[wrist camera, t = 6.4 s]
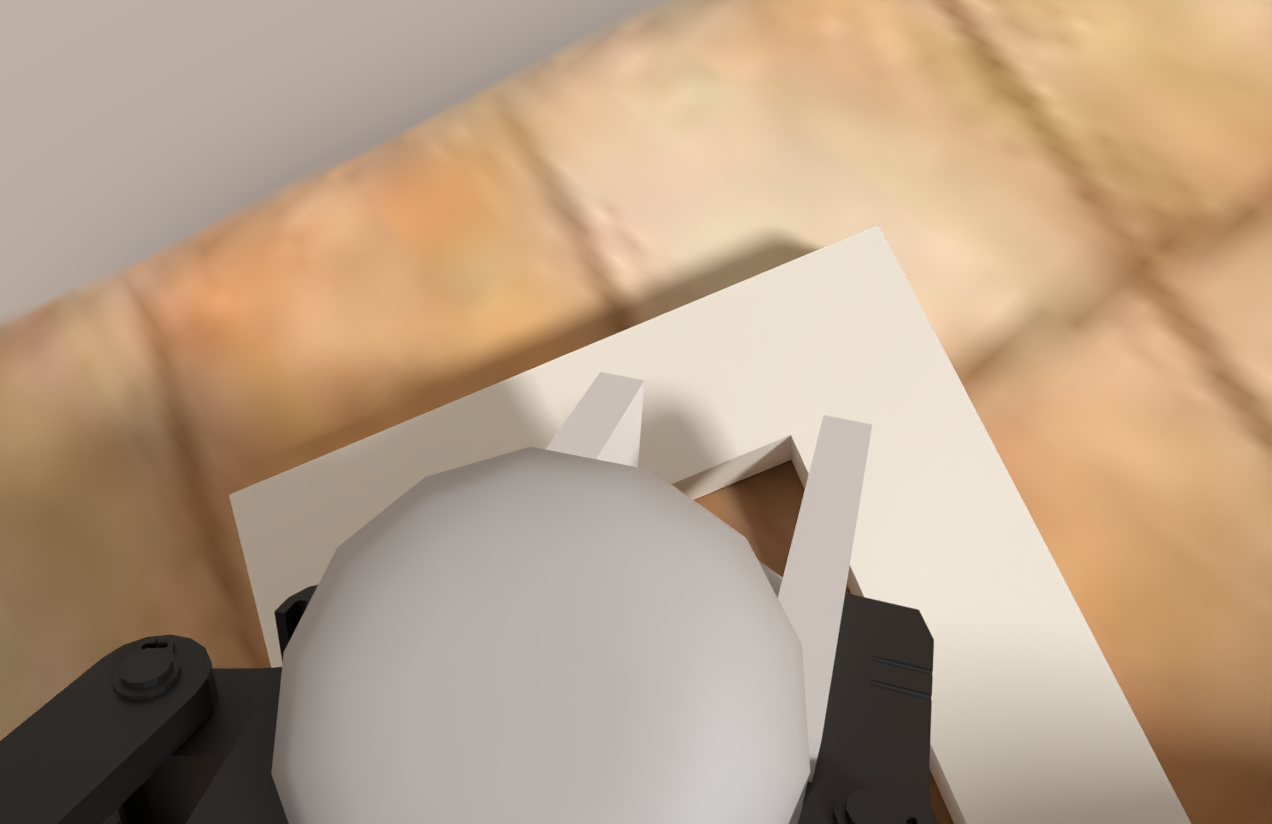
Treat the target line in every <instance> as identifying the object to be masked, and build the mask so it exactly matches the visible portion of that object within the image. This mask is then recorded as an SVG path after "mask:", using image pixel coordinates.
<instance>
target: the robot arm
mask: <svg viewBox="0 0 1272 824" xmlns="http://www.w3.org/2000/svg"><path fill="white" fill-rule="evenodd" d="M643 393H644V380H640V379H635V378H630V377H625V376H619V375H614V374H609V373H604V372H600V373H599V374H598V376H597V377H596V379H595V380H594V382H593V383H592V384H591V386H590V387H589V389H588V390H587V391H586V393H585V394H584V396H583V397H582V399H581V400H580V401H579V403H578V404H577V406H576V407H575V408H574V410H573V411H572V413H571V414H570V416H569V417H568V418H567V420H566V421H565V423H564V424H563V425H562V427H561V428H560V430H559V431H558V432H557V434H556V435H555V437H554V438H553V440H552V441H551V442H550V444H549V445H548V447H547V448H546V450H551V451H556V452H561V453H566V454H571V455H577V456H582V457H587V458H592V459H597V460H602V461H608V462H613V463H618V464H623V465H628V466H634V467H638V458H639V445H640V432H641V419H642V406H643ZM871 429H872V424H867V423H862V422H857V421H852V420H847V419H842V418H836V417H831V416H826V415H824V416H823V420H822V424H821V428H820V432H819V436H818V440H817V444H816V447H815V451H814V455H813V459H812V463H811V467H810V471H809V475H808V479H807V483H806V487H805V491H804V495H803V499H802V503H801V507H800V511H799V515H798V519H797V523H796V527H795V531H794V535H793V539H792V543H791V547H790V551H789V555H788V559H787V563H786V567H785V571H784V575H783V579H782V583H781V587H780V591H779V595H778V600H779V602H780V604H781V606H782V607H783V609H784V611H785V613H786V615H787V617H788V619H789V621H790V623H791V625H792V627H793V629H794V631H795V633H796V634H797V636H798V638H799V640H800V642H801V644H802V655H803V670H804V685H805V700H806V715H807V730H808V745H809V760H810V774H809V776H808V779H807V781H806V784H805V786H804V788H803V791H802V793H801V796H800V798H799V800H798V803H797V805H796V807H795V810H794V812H793V815H792V817H791V819H790V822H789V824H938V823H937V821H936V819H935V816H934V814H933V811H932V809H931V806H930V799H929V791H928V788H929V761H930V735H931V708H932V700H931V696H932V681H933V676H932V672H933V655H934V639H933V637H932V635H931V633H930V631H929V629H928V627H927V625H926V623H925V621H924V619H923V617H922V615H921V613H920V611H919V610H918V609H914V608H909V607H905V606H901V605H896V604H892V603H888V602H883V601H879V600H874V599H870V598H866V597H861V596H857V595H853V594H848V593H845V591H846V585H847V579H848V572H849V566H850V560H851V554H852V547H853V541H854V535H855V529H856V523H857V516H858V510H859V504H860V498H861V492H862V485H863V479H864V473H865V467H866V461H867V454H868V448H869V442H870V436H871ZM317 586H318V585H314V586H310V587H307V588H305V589H303V590H302V591H300V592H298V593H296V594H294V595H292V596H290V597H288V598H287V599H286V600H285V601H284V602H283V603H282V604H281V605H280V606H279V607H278V608H277V609H276V610H275V611H274V613H275V619H276V626H277V632H278V638H279V645H280V651H281V657H282V664H283V654H284V651H285V649H286V647H287V645H288V643H289V641H290V639H291V637H292V635H293V633H294V631H295V629H296V627H297V625H298V623H299V621H300V619H301V617H302V616H303V614H304V612H305V610H306V608H307V606H308V604H309V602H310V600H311V598H312V596H313V594H314V592H315V590H316V588H317ZM281 674H282V667H274V668H262V669H212V664H211V660H210V658H209V656H208V654H207V651H206V649H205V647H203V646H201V645H200V644H198V643H197V642H195V641H194V640H192V639H190V638H185V637H179V636H174V635H164V636H154V637H146V638H143V639H140V640H137V641H134V642H131V643H128V644H125V645H123V646H121V647H120V648H118V649H116V650H115V651H113V652H112V653H110V654H108V655H107V656H105V657H103V658H102V659H101V660H100V661H98V662H97V663H96V664H95V665H93V666H92V667H91V668H90V669H88V670H87V671H86V672H85V673H84V674H82V675H81V676H80V677H79V678H77V679H76V680H75V681H74V682H72V683H71V684H70V685H69V686H68V687H66V688H65V689H64V690H63V691H61V692H60V693H59V694H58V695H56V696H55V697H54V698H53V699H52V700H50V701H49V702H48V703H47V704H45V705H44V706H43V707H42V708H40V709H39V710H38V711H37V712H36V713H34V714H33V715H32V716H31V717H29V718H28V719H27V720H26V721H24V722H23V723H22V724H21V725H20V726H18V727H17V728H16V729H15V730H13V731H12V732H11V733H10V734H8V735H7V736H6V737H5V738H4V739H2V740H1V741H0V824H289V823H288V820H287V817H286V814H285V811H284V809H283V806H282V803H281V800H280V797H279V794H278V791H277V788H276V785H275V782H274V780H273V777H272V774H271V772H272V763H273V753H274V743H275V733H276V723H277V713H278V704H279V694H280V684H281Z"/></svg>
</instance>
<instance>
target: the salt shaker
mask: <svg viewBox="0 0 1272 824" xmlns="http://www.w3.org/2000/svg"><path fill="white" fill-rule="evenodd" d="M782 579H783V577H781V576H780V575H778V574H777V573H776V572H774V571H773V570H771V569H770V568H769V567H767V566H766V565H764V564H763V563H762V562H760V561H759V560H758V559H757V557H756V556H755V554H754V552H753V550H752V548H751V546H750V544H749V542H748V540H747V538H745V537H744V536H743V535H741V534H740V533H739V532H737V531H736V530H734V529H733V528H732V527H730V526H729V525H727V524H726V523H725V522H723V521H722V520H720V519H719V518H718V517H716V516H715V515H713V514H712V513H711V512H709V511H708V510H706V509H705V508H704V507H702V506H701V505H699V504H698V503H697V502H695V501H694V500H692V499H691V498H690V497H688V496H687V495H685V494H684V493H683V492H681V491H680V490H678V489H677V488H676V487H674V486H673V485H671V484H670V483H669V482H667V481H666V480H664V479H663V478H662V477H660V476H659V475H657V474H656V473H654V472H651V471H648V470H645V469H642V468H639V467H634V466H628V465H623V464H618V463H613V462H608V461H602V460H597V459H592V458H587V457H582V456H577V455H571V454H566V453H561V452H556V451H551V450H546V449H540V448H535V447H528V448H524V449H521V450H517V451H514V452H510V453H507V454H503V455H500V456H496V457H493V458H489V459H486V460H482V461H479V462H475V463H472V464H468V465H465V466H461V467H458V468H454V469H451V470H447V471H444V472H440V473H437V474H433V475H430V476H426V477H424V478H423V479H422V480H421V481H419V482H418V483H417V484H416V485H414V486H413V487H412V488H411V489H409V490H408V491H407V492H406V493H404V494H403V495H402V496H401V497H400V498H398V499H397V500H396V501H395V502H393V503H392V504H391V505H390V506H388V507H387V508H386V509H385V510H383V511H382V512H381V513H380V514H378V515H377V516H376V517H375V518H373V519H372V520H371V521H370V522H368V523H367V524H366V525H365V526H363V527H362V528H361V529H360V530H358V531H357V532H356V533H355V534H354V535H352V536H351V537H350V538H349V539H347V540H346V541H345V542H344V543H342V544H341V545H340V546H339V547H337V549H336V551H335V553H334V555H333V557H332V559H331V561H330V563H329V565H328V567H327V569H326V571H325V573H324V575H323V576H322V578H321V580H320V582H319V584H318V586H317V588H316V590H315V592H314V594H313V596H312V598H311V600H310V602H309V604H308V606H307V608H306V610H305V612H304V614H303V616H302V617H301V619H300V621H299V623H298V625H297V627H296V629H295V631H294V633H293V635H292V637H291V639H290V641H289V643H288V645H287V647H286V649H285V651H284V654H283V664H282V674H281V684H280V694H279V704H278V713H277V723H276V733H275V743H274V753H273V763H272V772H271V774H272V777H273V780H274V782H275V785H276V788H277V791H278V794H279V797H280V800H281V803H282V806H283V809H284V811H285V814H286V817H287V820H288V823H289V824H789V822H790V819H791V817H792V815H793V812H794V810H795V807H796V805H797V803H798V800H799V798H800V796H801V793H802V791H803V788H804V786H805V784H806V781H807V779H808V776H809V774H810V760H809V745H808V730H807V715H806V700H805V685H804V670H803V655H802V644H801V642H800V640H799V638H798V636H797V634H796V633H795V631H794V629H793V627H792V625H791V623H790V621H789V619H788V617H787V615H786V613H785V611H784V609H783V607H782V606H781V604H780V602H779V600H778V595H779V591H780V587H781V583H782Z"/></svg>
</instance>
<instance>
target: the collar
mask: <svg viewBox="0 0 1272 824" xmlns="http://www.w3.org/2000/svg"><path fill="white" fill-rule="evenodd" d="M600 372H604V373H609V374H614V375H619V376H625V377H630V378H635V379H640V380H644V393H643V406H642V419H641V432H640V445H639V458H638V467H639V468H642V469H645V470H648V471H651V472H654V473H656V474H657V475H659V476H660V477H662V478H663V479H664V480H666V481H667V482H669V483H670V484H671V485H673V486H674V487H676V488H677V489H678V490H680V491H681V492H683V493H684V494H685V495H687V496H688V497H690V498H691V499H692V500H694V499H696V498H699V497H701V496H704V495H706V494H709V493H711V492H714V491H716V490H718V489H721V488H723V487H726V486H728V485H731V484H733V483H736V482H738V481H740V480H743V479H745V478H748V477H750V476H753V475H755V474H758V473H760V472H762V471H765V470H767V469H770V468H772V467H775V466H777V465H780V464H782V463H785V462H787V461H789V460H791V461H792V463H793V465H794V467H795V469H796V472H797V474H798V476H799V478H800V481H801V483H802V485H803V487H804V490H805V487H806V483H807V479H808V475H809V471H810V467H811V463H812V459H813V455H814V451H815V447H816V444H817V440H818V436H819V432H820V428H821V424H822V420H823V416H824V415H826V416H831V417H836V418H842V419H847V420H852V421H857V422H862V423H867V424H872V429H871V436H870V442H869V448H868V454H867V461H866V467H865V473H864V479H863V485H862V492H861V498H860V504H859V510H858V516H857V523H856V529H855V535H854V541H853V547H852V554H851V560H850V566H849V572H848V579H847V586H848V588H849V590H850V592H851V594H853V595H857V596H861V597H866V598H870V599H874V600H879V601H883V602H888V603H892V604H896V605H901V606H905V607H909V608H914V609H918V610H919V611H920V613H921V615H922V617H923V619H924V621H925V623H926V625H927V627H928V629H929V631H930V633H931V635H932V637H933V639H934V655H933V672H932V676H933V681H932V696H931V700H932V708H931V735H930V761H929V769H930V771H931V773H932V775H933V778H934V780H935V782H936V784H937V787H938V789H939V791H940V793H941V796H942V798H943V800H944V802H945V804H946V807H947V809H948V811H949V813H950V816H951V818H952V820H953V822H954V824H1191V822H1190V820H1189V818H1188V816H1187V814H1186V812H1185V810H1184V809H1183V807H1182V805H1181V803H1180V801H1179V799H1178V797H1177V795H1176V793H1175V791H1174V789H1173V787H1172V786H1171V784H1170V782H1169V780H1168V778H1167V776H1166V774H1165V772H1164V770H1163V768H1162V766H1161V764H1160V763H1159V761H1158V759H1157V757H1156V755H1155V753H1154V751H1153V749H1152V747H1151V745H1150V743H1149V742H1148V740H1147V738H1146V736H1145V734H1144V732H1143V730H1142V728H1141V726H1140V724H1139V722H1138V720H1137V719H1136V717H1135V715H1134V713H1133V711H1132V709H1131V707H1130V705H1129V703H1128V701H1127V699H1126V697H1125V696H1124V694H1123V692H1122V690H1121V688H1120V686H1119V684H1118V682H1117V680H1116V678H1115V676H1114V674H1113V673H1112V671H1111V669H1110V667H1109V665H1108V663H1107V661H1106V659H1105V657H1104V655H1103V653H1102V651H1101V650H1100V648H1099V646H1098V644H1097V642H1096V640H1095V638H1094V636H1093V634H1092V632H1091V630H1090V629H1089V627H1088V625H1087V623H1086V621H1085V619H1084V617H1083V615H1082V613H1081V611H1080V609H1079V607H1078V606H1077V604H1076V602H1075V600H1074V598H1073V596H1072V594H1071V592H1070V590H1069V588H1068V586H1067V584H1066V583H1065V581H1064V579H1063V577H1062V575H1061V573H1060V571H1059V569H1058V567H1057V565H1056V563H1055V561H1054V560H1053V558H1052V556H1051V554H1050V552H1049V550H1048V548H1047V546H1046V544H1045V542H1044V540H1043V538H1042V537H1041V535H1040V533H1039V531H1038V529H1037V527H1036V525H1035V523H1034V521H1033V519H1032V517H1031V515H1030V514H1029V512H1028V510H1027V508H1026V506H1025V504H1024V502H1023V500H1022V498H1021V496H1020V494H1019V493H1018V491H1017V489H1016V487H1015V485H1014V483H1013V481H1012V479H1011V477H1010V475H1009V473H1008V471H1007V470H1006V468H1005V466H1004V464H1003V462H1002V460H1001V458H1000V456H999V454H998V452H997V450H996V448H995V447H994V445H993V443H992V441H991V439H990V437H989V435H988V433H987V431H986V429H985V427H984V425H983V424H982V422H981V420H980V418H979V416H978V414H977V412H976V410H975V408H974V406H973V404H972V402H971V401H970V399H969V397H968V395H967V393H966V391H965V389H964V387H963V385H962V383H961V381H960V380H959V378H958V376H957V374H956V372H955V370H954V368H953V366H952V364H951V362H950V360H949V358H948V357H947V355H946V353H945V351H944V349H943V347H942V345H941V343H940V341H939V339H938V337H937V335H936V334H935V332H934V330H933V328H932V326H931V324H930V322H929V320H928V318H927V316H926V314H925V312H924V311H923V309H922V307H921V305H920V303H919V301H918V299H917V297H916V295H915V293H914V291H913V289H912V288H911V286H910V284H909V282H908V280H907V278H906V276H905V274H904V272H903V270H902V268H901V267H900V265H899V263H898V261H897V259H896V257H895V255H894V253H893V251H892V249H891V247H890V245H889V244H888V242H887V240H886V238H885V236H884V234H883V232H882V230H881V228H880V226H879V225H876V226H874V227H871V228H869V229H867V230H864V231H862V232H859V233H857V234H855V235H852V236H850V237H847V238H845V239H843V240H840V241H838V242H835V243H833V244H831V245H828V246H826V247H823V248H821V249H819V250H816V251H814V252H811V253H809V254H807V255H804V256H802V257H799V258H797V259H794V260H792V261H790V262H787V263H785V264H782V265H780V266H778V267H775V268H773V269H770V270H768V271H766V272H763V273H761V274H758V275H756V276H754V277H751V278H749V279H746V280H744V281H742V282H739V283H737V284H734V285H732V286H730V287H727V288H725V289H722V290H720V291H718V292H715V293H713V294H710V295H708V296H705V297H703V298H701V299H698V300H696V301H693V302H691V303H689V304H686V305H684V306H681V307H679V308H677V309H674V310H672V311H669V312H667V313H665V314H662V315H660V316H657V317H655V318H653V319H650V320H648V321H645V322H643V323H641V324H638V325H636V326H633V327H631V328H629V329H626V330H624V331H621V332H619V333H616V334H614V335H612V336H609V337H607V338H604V339H602V340H600V341H597V342H595V343H592V344H590V345H588V346H585V347H583V348H580V349H578V350H576V351H573V352H571V353H568V354H566V355H564V356H561V357H559V358H556V359H554V360H552V361H549V362H547V363H544V364H542V365H540V366H537V367H535V368H532V369H530V370H527V371H525V372H523V373H520V374H518V375H515V376H513V377H511V378H508V379H506V380H503V381H501V382H499V383H496V384H494V385H491V386H489V387H487V388H484V389H482V390H479V391H477V392H475V393H472V394H470V395H467V396H465V397H463V398H460V399H458V400H455V401H453V402H451V403H448V404H446V405H443V406H441V407H438V408H436V409H434V410H431V411H429V412H426V413H424V414H422V415H419V416H417V417H414V418H412V419H410V420H407V421H405V422H402V423H400V424H398V425H395V426H393V427H390V428H388V429H386V430H383V431H381V432H378V433H376V434H374V435H371V436H369V437H366V438H364V439H362V440H359V441H357V442H354V443H352V444H349V445H347V446H345V447H342V448H340V449H337V450H335V451H333V452H330V453H328V454H325V455H323V456H321V457H318V458H316V459H313V460H311V461H309V462H306V463H304V464H301V465H299V466H297V467H294V468H292V469H289V470H287V471H285V472H282V473H280V474H277V475H275V476H273V477H270V478H268V479H265V480H263V481H260V482H258V483H256V484H253V485H251V486H248V487H246V488H244V489H241V490H239V491H236V492H234V493H232V494H229V498H230V502H231V506H232V510H233V514H234V518H235V522H236V526H237V530H238V534H239V538H240V543H241V547H242V551H243V555H244V559H245V563H246V567H247V571H248V575H249V579H250V583H251V587H252V591H253V595H254V599H255V604H256V608H257V612H258V616H259V620H260V624H261V628H262V632H263V636H264V640H265V644H266V648H267V652H268V656H269V660H270V665H271V668H274V667H282V657H281V651H280V645H279V638H278V632H277V626H276V619H275V613H274V611H275V610H276V609H277V608H278V607H279V606H280V605H281V604H282V603H283V602H284V601H285V600H286V599H287V598H288V597H290V596H292V595H294V594H296V593H298V592H300V591H302V590H303V589H305V588H307V587H310V586H314V585H318V584H319V582H320V580H321V578H322V576H323V575H324V573H325V571H326V569H327V567H328V565H329V563H330V561H331V559H332V557H333V555H334V553H335V551H336V549H337V547H339V546H340V545H341V544H342V543H344V542H345V541H346V540H347V539H349V538H350V537H351V536H352V535H354V534H355V533H356V532H357V531H358V530H360V529H361V528H362V527H363V526H365V525H366V524H367V523H368V522H370V521H371V520H372V519H373V518H375V517H376V516H377V515H378V514H380V513H381V512H382V511H383V510H385V509H386V508H387V507H388V506H390V505H391V504H392V503H393V502H395V501H396V500H397V499H398V498H400V497H401V496H402V495H403V494H404V493H406V492H407V491H408V490H409V489H411V488H412V487H413V486H414V485H416V484H417V483H418V482H419V481H421V480H422V479H423V478H424V477H426V476H430V475H433V474H437V473H440V472H444V471H447V470H451V469H454V468H458V467H461V466H465V465H468V464H472V463H475V462H479V461H482V460H486V459H489V458H493V457H496V456H500V455H503V454H507V453H510V452H514V451H517V450H521V449H524V448H528V447H535V448H540V449H546V448H547V447H548V445H549V444H550V442H551V441H552V440H553V438H554V437H555V435H556V434H557V432H558V431H559V430H560V428H561V427H562V425H563V424H564V423H565V421H566V420H567V418H568V417H569V416H570V414H571V413H572V411H573V410H574V408H575V407H576V406H577V404H578V403H579V401H580V400H581V399H582V397H583V396H584V394H585V393H586V391H587V390H588V389H589V387H590V386H591V384H592V383H593V382H594V380H595V379H596V377H597V376H598V374H599V373H600Z"/></svg>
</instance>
